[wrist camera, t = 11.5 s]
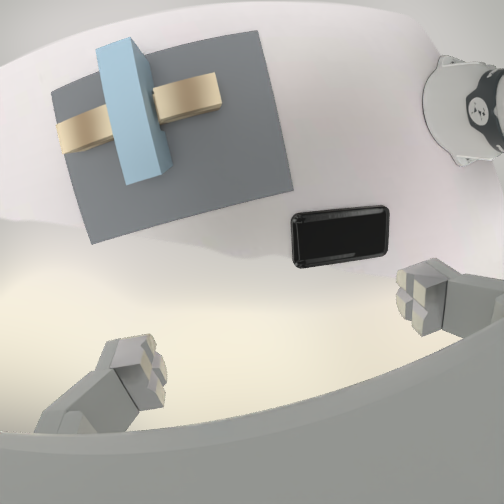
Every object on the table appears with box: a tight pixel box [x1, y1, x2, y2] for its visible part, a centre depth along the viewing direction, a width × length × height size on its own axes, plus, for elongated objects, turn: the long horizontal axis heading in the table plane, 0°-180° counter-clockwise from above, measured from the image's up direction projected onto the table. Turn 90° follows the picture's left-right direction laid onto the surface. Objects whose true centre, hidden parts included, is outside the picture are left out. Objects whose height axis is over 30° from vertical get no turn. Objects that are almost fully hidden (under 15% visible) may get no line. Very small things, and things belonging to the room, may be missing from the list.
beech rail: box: [56, 72, 222, 154], centre depth 32 cm, size 18×4×7 cm, turn 102°
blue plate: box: [96, 37, 173, 185], centre depth 31 cm, size 4×14×11 cm, turn 12°
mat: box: [51, 30, 294, 245], centre depth 37 cm, size 28×22×1 cm
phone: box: [291, 205, 390, 268], centre depth 45 cm, size 8×1×15 cm
